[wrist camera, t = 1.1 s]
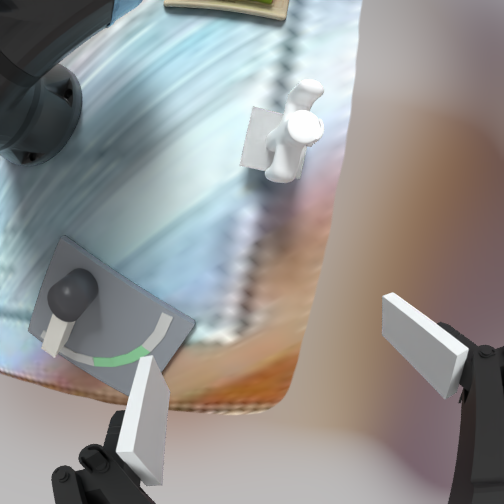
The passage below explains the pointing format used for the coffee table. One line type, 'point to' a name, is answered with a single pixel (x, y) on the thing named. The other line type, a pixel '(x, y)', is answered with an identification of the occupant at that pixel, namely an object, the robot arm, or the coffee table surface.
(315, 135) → the white faucet
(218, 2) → the wooden puzzle
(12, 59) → the robot arm
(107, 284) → the tuner board
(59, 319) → the white and grey lever
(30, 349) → the coffee table surface
